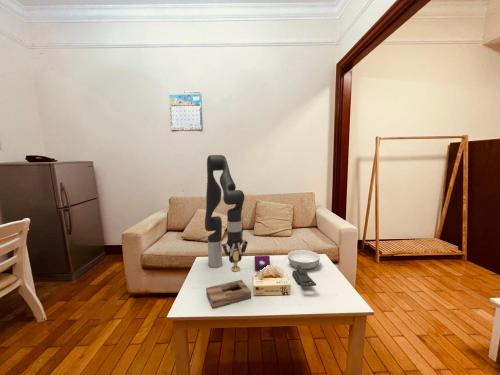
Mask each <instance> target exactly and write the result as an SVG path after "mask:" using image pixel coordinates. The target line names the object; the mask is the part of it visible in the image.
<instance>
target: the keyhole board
mask: <svg viewBox="0 0 500 375" xmlns="http://www.w3.org/2000/svg"><path fill="white" fill-rule="evenodd" d="M205 291H206V292H205V293H206V294H205V295H206V297H207V299H208V301H209V303H210V306H211V308H212V309H213V310H214V309H218V308H220V307H223V306H228V305H231V304H235V303H239V302H243V301H246V300H249V299H252V291H251V290H250V288H249V287H248V286H247V284H245V282H244V281H243V280H242V279H239V280H234V281H230V282H225V283H221V284H217V285H213V286H209V287H206V288H205Z"/></svg>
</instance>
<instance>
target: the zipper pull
mask: <svg viewBox="0 0 500 375" xmlns="http://www.w3.org/2000/svg"><path fill="white" fill-rule="evenodd" d="M291 275H292V278H293V279H294V281H295V282H296V284H297V285H298V286H300V287H301V286H302V287H317V283H316V282H315V281H314V280H313V279H312V278H311V276H309V274H308V272H307V271H306V270H304V269H303V268H301V266H297V267H296V269H295V270H292V274H291Z"/></svg>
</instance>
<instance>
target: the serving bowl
mask: <svg viewBox="0 0 500 375" xmlns="http://www.w3.org/2000/svg"><path fill="white" fill-rule="evenodd" d="M320 259H321V257H320V255H319V253H317V252H316V251H311V250H307V249H297V250H296V249H295V250H292V251H290V252H289V251H288V253H287V260H288V261H289V264H291V265H292V266H293V267H295V268H297V266H301V268H302V270H304V269H307V270H308V269H313V268H315V267H316V266H317V265H318V264H319V262H320Z"/></svg>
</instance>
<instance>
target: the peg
mask: <svg viewBox="0 0 500 375" xmlns="http://www.w3.org/2000/svg"><path fill="white" fill-rule="evenodd" d="M232 256H233V263H232V264H233V266H232V267H231V268H230V269H231V272H233V273H238V272H240V271H241V267H240V266H238V263H239V262H240V261H239V250H238V249H234V251H233V254H232Z"/></svg>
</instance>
